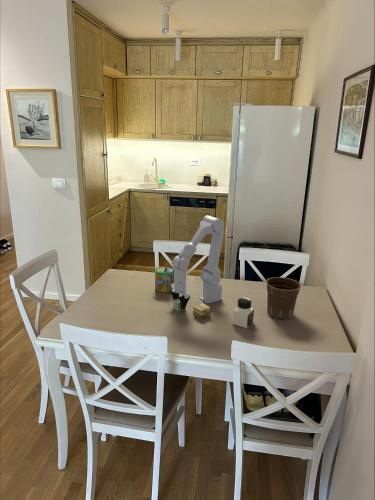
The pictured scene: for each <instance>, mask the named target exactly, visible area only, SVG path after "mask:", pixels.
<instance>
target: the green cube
mask: <svg viewBox="0 0 375 500" xmlns="http://www.w3.org/2000/svg"><path fill="white" fill-rule="evenodd" d="M172 301H173V302H172V303H173V307H172V308H173V309H174V310H175V311H176V312H181V311H186V309H187V308H186V309H184V310H181V306H180V300H179V299H175V300H173V299H172Z"/></svg>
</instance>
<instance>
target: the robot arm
mask: <svg viewBox="0 0 375 500" xmlns="http://www.w3.org/2000/svg"><path fill="white" fill-rule="evenodd" d="M224 228H225V222H224V221H223V219H222V218H218V217H214V216H211V215H209V214H208V215H205V216H203V217H202V219H201V221H200V222H199V226H198V229H197V230H196V232H195V234H194V235H193V237H192V239H191V241H190V242H187V243H186V244H184V245H183V248H182V250H181V251H180V252H179V253H178V255H176V256H175V257H173V258H172V261H171V266H173V268H174V284H171V288H172V289H171V290H170V292H171V293H170V295H171V298H172V301H173V300H175V299H179V300H180V306H181V310H183V311H185V310H184V309H187V308H186V307H187V305H188V302H189V300H190V299H191V296H190V294H189V292H188V290H187V269H188V268H189V266H190V262H191V259H192V257H193V256H194V254H195V253H196V252H197V246H198V245H199V244H200V242H202V240H203V239H204V238H205V236H206V235H207V234H211V239H210V240H211V241H210V248H209V252H208V258H207V262H206V264H205V265H204V266H203V268H202V271H201V272H200V279H201V280H202V283H203V285H202V296H199V299H201V300H202V301H203V302H205V303H206V304H212V303H216V302H219V301H222V300H223V299H222V293H223V287H222V284H221V281H222V280H221V279H222V278H221V270H220V269H219V267H218V266H219V261H220V257H221V256H220V255H221V251H222V246H223V245H222V244H223V239H224V234H225V231H224ZM180 295H181V296H180Z"/></svg>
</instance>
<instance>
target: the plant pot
mask: <svg viewBox="0 0 375 500" xmlns="http://www.w3.org/2000/svg"><path fill="white" fill-rule="evenodd" d="M265 284H266V291H267V297H266V298H267V302H266V303H267V308H266V309H267V310H266V311H267V314H268V315H269V316H270V317H272V318H274V319H277V320H278V319H282V320H289V319H291V318H293V316H294V312H295V306H296V304H297V298H298V295H299V293H300V290H301V288H302V284H301V282H299V281H297V280H296V279H292V278H288V277H284V276H283V277H280V276H279V277H278V276H275V277H269V278H267V279H266V280H265Z"/></svg>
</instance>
